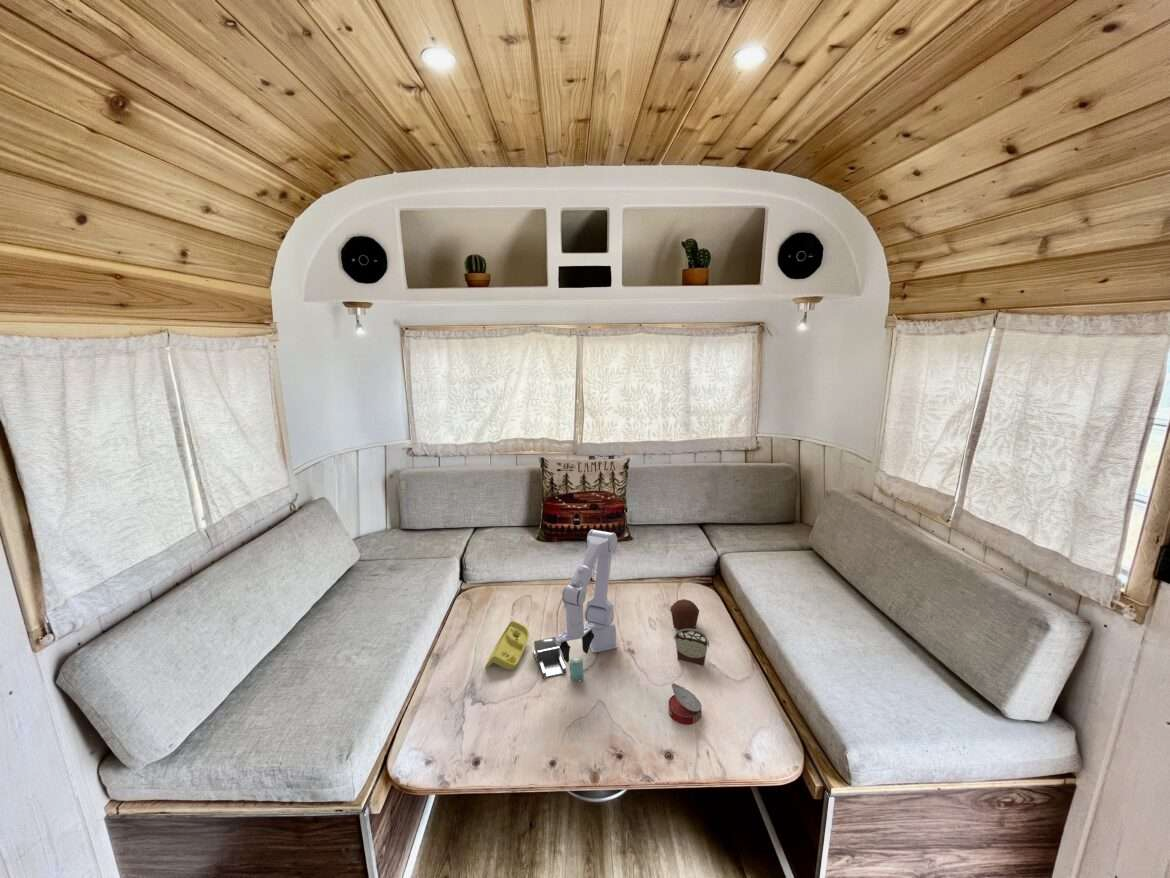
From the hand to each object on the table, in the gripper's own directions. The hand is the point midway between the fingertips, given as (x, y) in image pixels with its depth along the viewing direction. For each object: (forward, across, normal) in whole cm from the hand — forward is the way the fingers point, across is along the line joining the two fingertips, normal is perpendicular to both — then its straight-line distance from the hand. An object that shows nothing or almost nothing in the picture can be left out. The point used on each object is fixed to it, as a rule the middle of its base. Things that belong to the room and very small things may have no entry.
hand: (576, 656), depth 164 cm
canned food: (+8, -18, +33) cm, 38 cm away
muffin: (+8, -51, 0) cm, 52 cm away
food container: (+8, -39, +16) cm, 43 cm away
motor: (+8, +3, -12) cm, 15 cm away
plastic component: (+8, +13, -25) cm, 29 cm away
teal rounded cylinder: (+8, 0, 0) cm, 8 cm away
